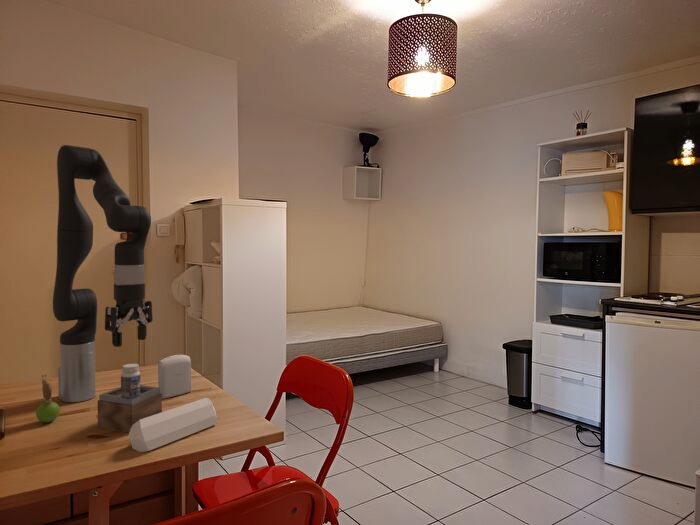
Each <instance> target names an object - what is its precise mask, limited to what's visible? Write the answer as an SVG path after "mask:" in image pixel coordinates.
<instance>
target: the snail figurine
mask: <svg viewBox="0 0 700 525" xmlns="http://www.w3.org/2000/svg"><path fill="white" fill-rule="evenodd" d="M47 376H48V375H47V374H41V377H42V381H41V384H42V386H41V387H42V388H41V389H42V396H43V401H44V402H42V403H41V404H40V405H39V406H38V407H37V409H36V411H35V416H36V419H37V420H38V421H39V422H41V423H45V424H46V423H52V422H53V421H55V420H56V419H57V418H58V417H59V416H60V413H61V408H60V405H59V404H58V403H57V402H55V401H52V399H51V398H52V393H53V392H52V391H53V390H52V385H51V384H50V383H48V380H47ZM44 377H45V378H44Z"/></svg>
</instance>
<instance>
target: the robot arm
mask: <svg viewBox="0 0 700 525" xmlns="http://www.w3.org/2000/svg"><path fill="white" fill-rule="evenodd" d="M56 170H57V172H56V174H57V188H58V189H57V190H58V191H57V192H58V213H57V214H58V215H57V226H56V227H57V231H56V234H57V235H56V268H55V270H56V271H55V280H54V286H53V287H54V288H53V295H52V296H53V297H52V311H53V315H54V317H55V319H56V320H57V321H58V322H69V321H70V322H71V321H76V323H75V324H74V325H73V326H71V327H70V328H69V329H66V330H65V331H63V332H61V334H60V336H59V350H60V351H59V352H60V353H59V354H60V356H59V358H60V362H59V363H60V366H59V367H58V368H57V373H58V374H57V375H58V376H57V380H58V382H57V383H58V384H57V385H58V399H59V400H61V402H64V403H79V402H85V401H88V400H92V399H94V398H95V397H96V395H97V394H96V347H95V346H96V332H97V323H98V322H97V321H98V320H97V319H98V299H97V296H96V293H95V291H94V290H92V289H91V288H74V289H73V285H74V281H75V276H76V274H77V272H78V270H79V268H80V267H81V265H82V264H83V263H84V261H85V260H86V259H87V257H88V255H90V253H91V251H92V248H93V243H94V224H93V221H92V219H91V217H90V215H89V214H88V212H87V210H86V209H85V207H84V206H83V205H82V204H83V203H81V201H80V200H79V197H78V194H77V190H76V185H75V184H76V183H75V179H76V180H88V181H89V180H92V181H94V184H93V187H92V194H93V197H94V199H95V201H96V202H97V203H98V205H99V207H101V209H102V210H103V212H104V216H105V221H106V224H107V227H108V228H109V229H110V230H112V231H114V232H117V233H131V236H130V238H128V240H127V239H126V240H124V241H119V242H117V243H116V244H115V245H114V268H113V300H114V301H115V302H116V303H115V304H116V305H115V306H106V307H105V311H104V312H105V314H104V330H105V331H107V332H111V342H112V346H114V347H117V348H120V347H122V346H123V332H122V330H123V328H124V326H125V325H127V323H128V322H131V321H135V322H136V324H137V326H136V327H137V328H136V329H137V335H136V336H137V340H138V341H139V340H141V341H144V340H146V339H147V326H148V324H149V323H152V322H153V304H152V303H153V302H152V301H151V300H145V298H146V272H145V271H146V270H145V246H146V242H147V239H148V234H149V233H150V232H149V231H150V229H151V225H152V217H151V214H150V210H149V209H148V208H146V207H145V206H142V205H131V200H130V197H129V196H128V195H127V193H125V192H124V191H123V189H122V188H121V186H119V185H118V183H117V181H116V180H115V179H114V177H113V175H112V173H111V171H110V169H109V167H108V165H107V163H106V161H105V159H104V157H103V156H102V154H101V153H100V152H99V151H98V150H96V149H93V148H89V147H81V146H77V145H68V144H63V145H61V146H60V148H59V150H58V152H57V157H56Z"/></svg>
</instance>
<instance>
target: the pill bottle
mask: <svg viewBox="0 0 700 525" xmlns="http://www.w3.org/2000/svg"><path fill="white" fill-rule="evenodd" d="M139 365H140V364H138V363H127V364H124V365H122V369H121V370H122V373H121V374H120V387H121V396H124V397H130V398H132V397H134V396H137V395H139V394H140V385H141V372H140V371H139V370H140V366H139Z"/></svg>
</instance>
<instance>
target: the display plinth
mask: <svg viewBox="0 0 700 525" xmlns="http://www.w3.org/2000/svg"><path fill="white" fill-rule="evenodd" d="M98 395H99V397H98V398H99V399H98V400H97V428H99V429H100V428H101V429H105V430H106V429H107V430H112V431H116V432H117V431H118V432H124V433H127V434H129V432H130V430H131V427H132V425H133V424H135V423H136V422H137V421H139V420H140V419H143V418H146V417H149V416H152V415H155V414H158V413H161V412H163V404H162V403H163V402H162V401H163V399H162V393H160V388H159V387H158V386H150V385H144V384H143V385H142V384H140V394H139V395H137V396H134V397H132V398H130V397H124V396H121V386H119V387H117V388H114V389H111V390H108V391H106V392H103V393H100V394H98Z"/></svg>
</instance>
